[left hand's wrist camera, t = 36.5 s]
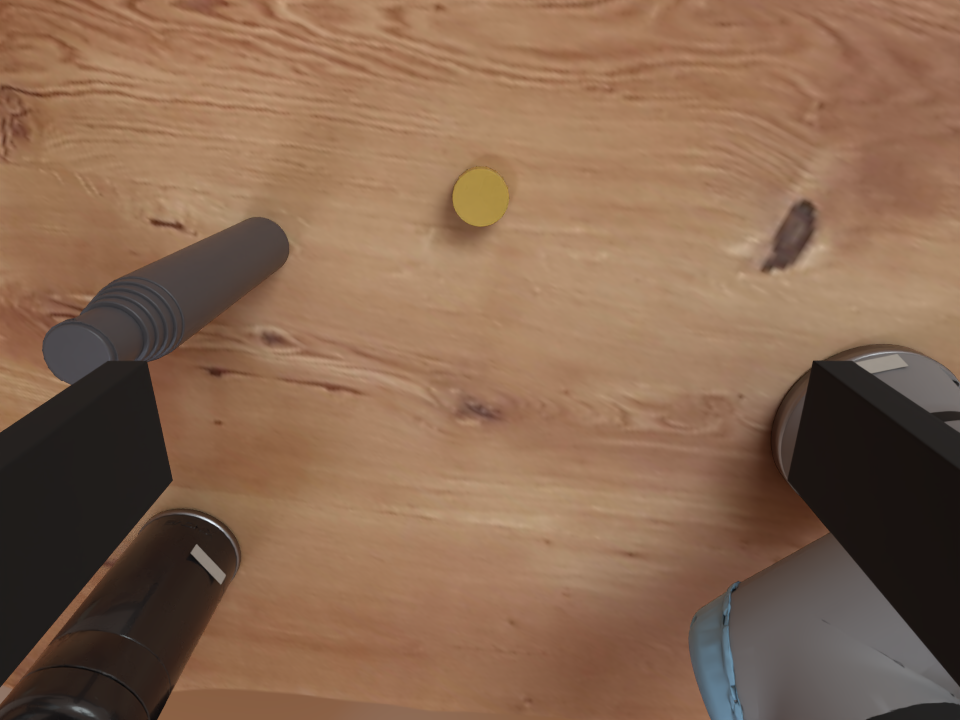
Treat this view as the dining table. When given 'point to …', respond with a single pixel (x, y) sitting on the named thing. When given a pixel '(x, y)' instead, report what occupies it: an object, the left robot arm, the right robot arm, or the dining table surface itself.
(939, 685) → the left robot arm
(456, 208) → the cap
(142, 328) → the bottle
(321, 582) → the dining table surface
